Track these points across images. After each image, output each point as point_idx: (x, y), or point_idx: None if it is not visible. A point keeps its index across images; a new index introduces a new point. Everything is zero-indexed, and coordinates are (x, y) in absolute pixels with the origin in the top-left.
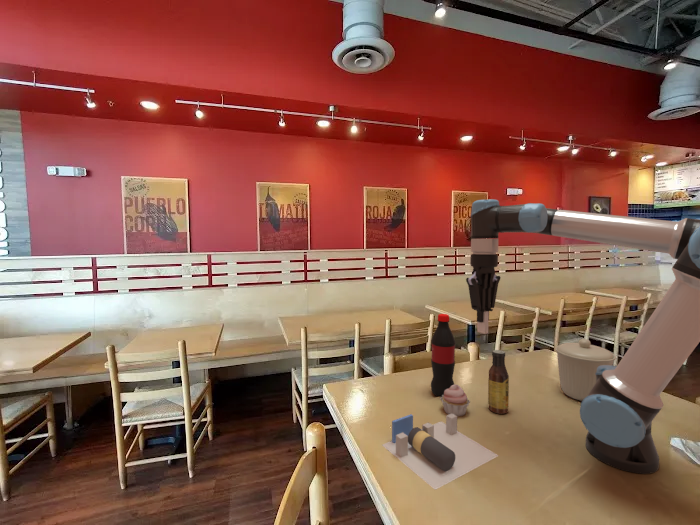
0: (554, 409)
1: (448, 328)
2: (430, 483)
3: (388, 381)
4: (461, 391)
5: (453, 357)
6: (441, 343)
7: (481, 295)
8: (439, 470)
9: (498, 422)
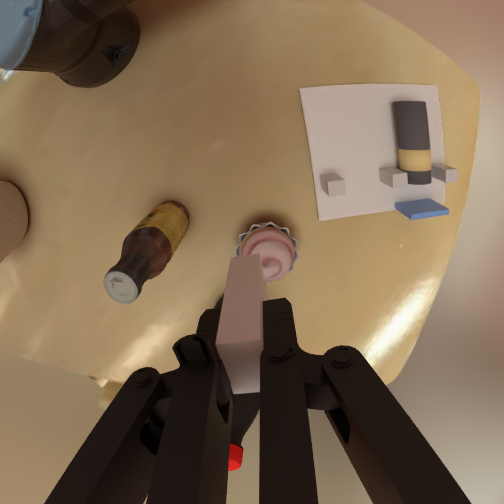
0: (72, 186)
1: None
2: (436, 97)
3: None
4: (261, 249)
5: None
6: None
7: (314, 485)
8: None
9: (205, 180)
